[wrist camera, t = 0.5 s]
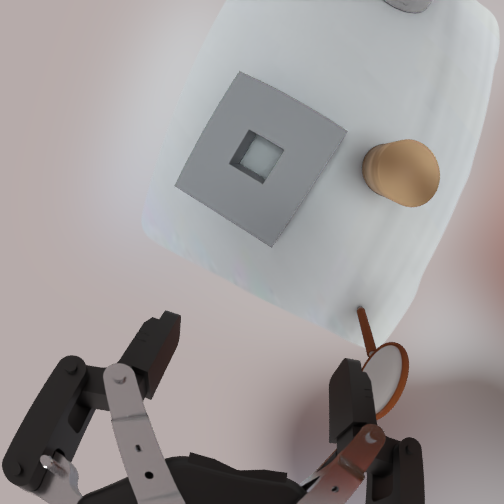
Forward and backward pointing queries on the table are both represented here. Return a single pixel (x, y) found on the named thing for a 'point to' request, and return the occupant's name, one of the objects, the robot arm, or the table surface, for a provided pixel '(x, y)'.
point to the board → (236, 144)
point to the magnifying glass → (384, 368)
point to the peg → (402, 172)
